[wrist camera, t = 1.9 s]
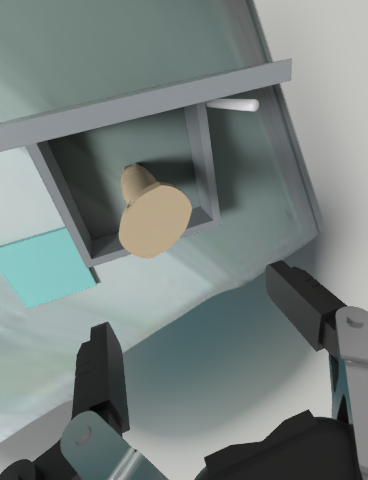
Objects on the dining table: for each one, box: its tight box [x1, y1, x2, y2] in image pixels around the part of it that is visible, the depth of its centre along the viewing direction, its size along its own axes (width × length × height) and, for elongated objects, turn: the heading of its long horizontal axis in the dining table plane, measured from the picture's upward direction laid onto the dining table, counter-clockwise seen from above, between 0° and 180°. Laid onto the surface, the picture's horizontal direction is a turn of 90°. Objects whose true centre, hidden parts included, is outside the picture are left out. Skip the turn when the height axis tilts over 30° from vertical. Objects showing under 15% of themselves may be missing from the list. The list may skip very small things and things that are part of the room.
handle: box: [119, 163, 192, 258], centre depth 27 cm, size 5×6×15 cm
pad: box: [0, 227, 97, 309], centre depth 35 cm, size 10×10×1 cm
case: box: [0, 59, 292, 268], centre depth 25 cm, size 17×19×19 cm
